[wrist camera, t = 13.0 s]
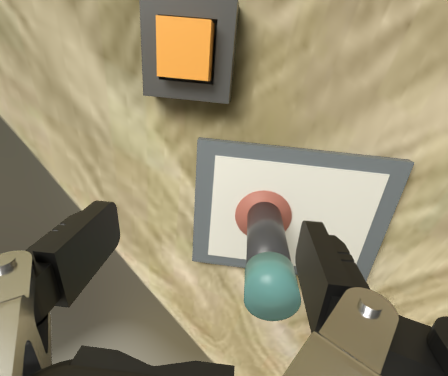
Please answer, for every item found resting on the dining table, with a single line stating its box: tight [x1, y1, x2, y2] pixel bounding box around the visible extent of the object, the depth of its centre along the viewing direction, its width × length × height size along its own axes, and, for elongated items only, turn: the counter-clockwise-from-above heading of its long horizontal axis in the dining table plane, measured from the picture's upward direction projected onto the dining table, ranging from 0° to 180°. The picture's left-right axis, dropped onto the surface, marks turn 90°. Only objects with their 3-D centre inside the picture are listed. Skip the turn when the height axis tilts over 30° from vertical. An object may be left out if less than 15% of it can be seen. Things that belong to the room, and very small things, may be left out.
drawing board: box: [192, 137, 414, 281], centre depth 30 cm, size 22×16×1 cm
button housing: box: [140, 0, 239, 104], centre depth 23 cm, size 8×8×3 cm
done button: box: [156, 15, 215, 81], centre depth 22 cm, size 4×4×2 cm
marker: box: [244, 202, 301, 321], centre depth 24 cm, size 4×4×12 cm
